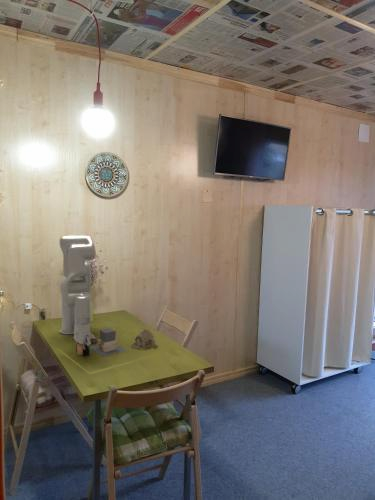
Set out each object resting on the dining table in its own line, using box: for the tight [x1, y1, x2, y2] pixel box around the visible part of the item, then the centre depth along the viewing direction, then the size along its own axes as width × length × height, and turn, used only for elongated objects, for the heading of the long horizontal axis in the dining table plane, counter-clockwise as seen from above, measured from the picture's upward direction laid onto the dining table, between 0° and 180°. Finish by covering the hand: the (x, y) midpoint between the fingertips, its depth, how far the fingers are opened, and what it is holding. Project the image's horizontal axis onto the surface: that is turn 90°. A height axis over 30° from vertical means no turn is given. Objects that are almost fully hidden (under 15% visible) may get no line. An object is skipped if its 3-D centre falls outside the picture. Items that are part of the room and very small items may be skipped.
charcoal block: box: [99, 327, 117, 342], centre depth 198 cm, size 6×6×5 cm
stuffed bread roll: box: [131, 328, 157, 350], centre depth 206 cm, size 14×11×10 cm
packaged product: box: [90, 331, 98, 345], centre depth 212 cm, size 18×5×10 cm
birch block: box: [97, 338, 118, 352], centre depth 199 cm, size 7×7×5 cm
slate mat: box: [89, 344, 127, 357], centre depth 199 cm, size 16×14×1 cm
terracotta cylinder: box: [76, 342, 87, 356], centre depth 192 cm, size 6×6×6 cm
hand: (82, 353), depth 192 cm, fingers open, 6 cm apart
